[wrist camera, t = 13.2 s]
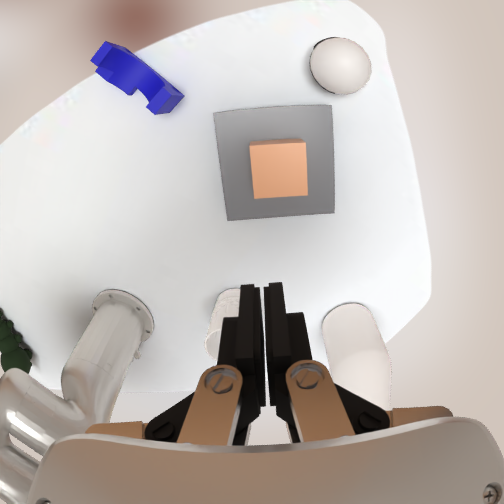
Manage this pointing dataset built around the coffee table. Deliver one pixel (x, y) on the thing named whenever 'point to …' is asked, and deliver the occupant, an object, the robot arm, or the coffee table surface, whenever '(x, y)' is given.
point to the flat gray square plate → (271, 128)
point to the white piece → (340, 65)
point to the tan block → (279, 168)
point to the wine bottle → (358, 354)
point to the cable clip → (135, 77)
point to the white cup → (221, 319)
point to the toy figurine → (12, 349)
